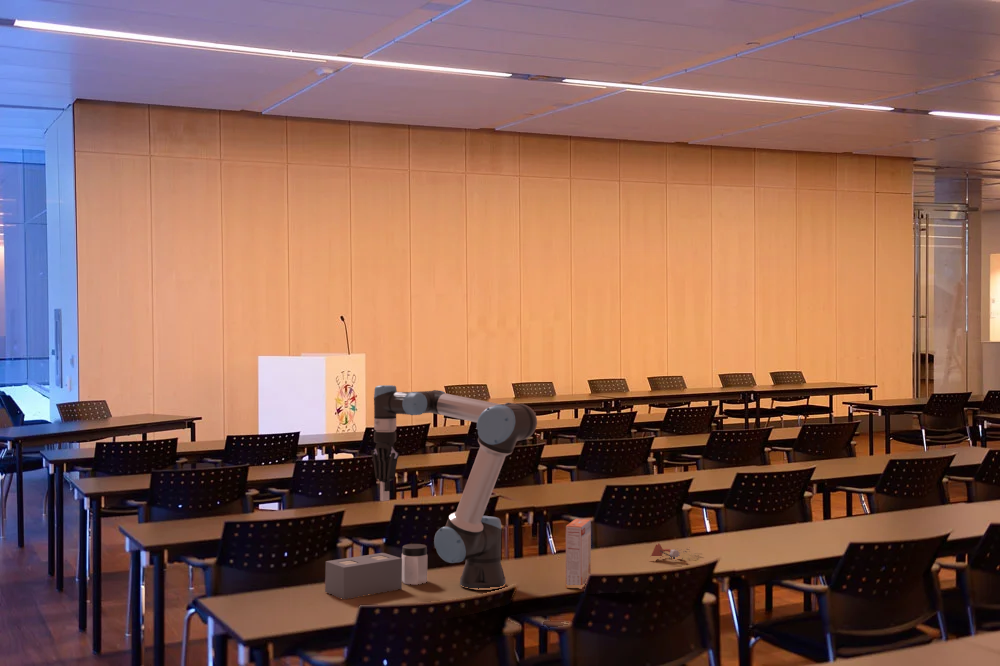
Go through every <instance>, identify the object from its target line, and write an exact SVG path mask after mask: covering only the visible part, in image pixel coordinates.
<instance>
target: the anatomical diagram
mask: <svg viewBox="0 0 1000 666" xmlns="http://www.w3.org/2000/svg"><path fill="white" fill-rule="evenodd" d="M686 550H689V549H688V548H686ZM686 550H684V553H687V551H686ZM679 551H680V552H681V549H679V550H678V549H670V548H664V549H663V548H662V546H661V544H660V542H659V543H658V542H657V544H655V545H654V548H653V550H652V553H651V555H650V557H651V556H662V557H663V554H664V555H666V556H670V557H671V558H672V557H673V559H675V557H678V556H680V552H679ZM667 552H669V554H668V553H667Z"/></svg>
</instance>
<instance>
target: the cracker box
mask: <svg viewBox="0 0 1000 666" xmlns="http://www.w3.org/2000/svg"><path fill="white" fill-rule="evenodd" d="M591 521H592V520H591V519H585V518H575V519H573V520H572V521H571V522H569V523H568V524H567V525H565V585H566V584H567V585H583V584H585V582H586V579H587V576H588V575H589V574H591V575H592V567H591V566H592V559H591V558H592V548H591V547H592V546H591V545H592V540H591V539H592V536H591V535H592V523H591Z"/></svg>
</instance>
